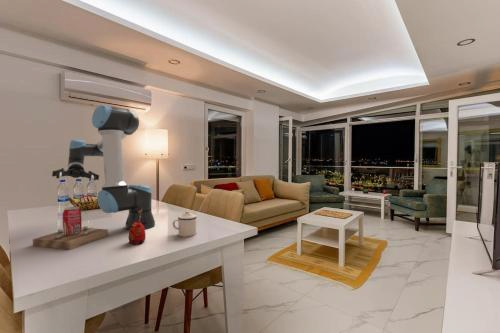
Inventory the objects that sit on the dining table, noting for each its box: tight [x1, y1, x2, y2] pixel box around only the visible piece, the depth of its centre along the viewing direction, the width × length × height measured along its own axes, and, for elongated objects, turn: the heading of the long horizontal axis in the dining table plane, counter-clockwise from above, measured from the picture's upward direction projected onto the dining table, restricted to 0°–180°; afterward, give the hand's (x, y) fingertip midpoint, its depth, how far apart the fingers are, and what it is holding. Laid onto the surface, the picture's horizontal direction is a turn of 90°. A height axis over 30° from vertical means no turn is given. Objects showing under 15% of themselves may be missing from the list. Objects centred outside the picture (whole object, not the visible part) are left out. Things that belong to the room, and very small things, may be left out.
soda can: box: [62, 206, 82, 235], centre depth 117 cm, size 7×7×12 cm
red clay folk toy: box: [128, 210, 147, 245], centre depth 115 cm, size 8×7×15 cm
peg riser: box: [32, 225, 109, 250], centre depth 117 cm, size 20×20×4 cm
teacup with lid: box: [172, 210, 197, 238], centre depth 127 cm, size 12×9×12 cm
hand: (77, 179), depth 127 cm, fingers open, 13 cm apart
